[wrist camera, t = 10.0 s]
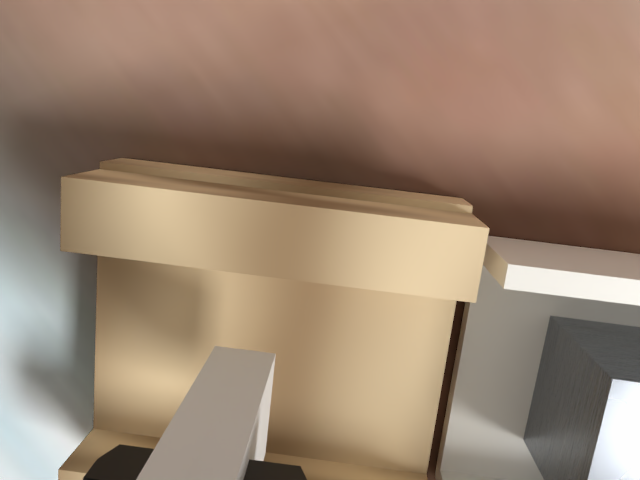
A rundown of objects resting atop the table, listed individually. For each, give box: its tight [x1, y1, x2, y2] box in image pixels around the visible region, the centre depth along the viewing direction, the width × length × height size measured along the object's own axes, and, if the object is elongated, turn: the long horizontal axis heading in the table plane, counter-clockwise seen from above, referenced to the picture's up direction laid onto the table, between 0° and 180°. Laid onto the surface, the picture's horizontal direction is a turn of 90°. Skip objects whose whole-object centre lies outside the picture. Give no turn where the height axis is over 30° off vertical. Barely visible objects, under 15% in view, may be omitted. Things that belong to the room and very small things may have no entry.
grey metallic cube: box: [523, 316, 640, 480], centre depth 14 cm, size 4×4×4 cm
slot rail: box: [58, 158, 489, 480], centre depth 16 cm, size 10×10×4 cm
